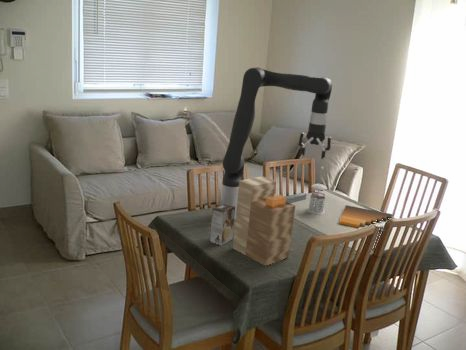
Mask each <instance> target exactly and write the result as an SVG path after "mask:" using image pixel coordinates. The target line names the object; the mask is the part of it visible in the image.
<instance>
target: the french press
mask: <svg viewBox="0 0 466 350" xmlns="http://www.w3.org/2000/svg"><path fill="white" fill-rule="evenodd" d="M324 168H325V167H324V166H320V168H319V169H320V170H321V172H320V175H322V173H323V170H324ZM319 180H320V181H319V182H321V180H322V177H320V179H319ZM311 188H312V189H314V190H313V191H312V192H311V194H310V198H309V199H310V200H309V205H308V208H307V209H306V211H307V212H308V213H310V214H314V215H324V214H325V213H326V211H325V210H324V208H325V200H326V197H325V196H326V195H325V193H323V192H320V191H325V190H327V189H328V187H327V186H326V185H324V184H321V183H314V184H311ZM315 190H318V191H315Z"/></svg>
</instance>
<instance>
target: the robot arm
mask: <svg viewBox="0 0 466 350" xmlns="http://www.w3.org/2000/svg"><path fill="white" fill-rule="evenodd" d="M261 87H278V88H281V89H282V88H283V89H285V90H290V91H291V90H292V91H296V92H297V91H299V92H308V93H311V94H314V95H315V96H314V99H313V100H312V104H311V111H310V115H309V124H308V130H307V133H305V132H303V131H302V132H301V133H300V135H299V140H298V146H299V147H301V155H302V156H303V157H305V156H306V148H307V146H308V145H309V144H311V145H317V146H320V148H321V149H322V151H321V155H320V158H321V159H322V160H324V158H325V157H326V152H328V151H330V150H331V147H332V145H331V144H332V136H325V135H326V134H325V133H326V128H327V123H328V119H327V118H328V109H329V102H330V97H331V93H332V89H333V82H332V80H331V78H329V77H326V76H322V77H315V76H314V77H312V76H308V75H305V74H294V73H292V74H291V73H281V72H274V71H271V70H268V69H263V68H260V67H250V68H248V69H247V70H246V71H245V72H244V74H243V78H242V84H241V91H240V97H239V101H238V104H237V106H236V107H237V108H236V111H235V114H234V118H233V121H232V127H231V132H230V137H229V143H228V146H227V149H226V151H225V154H224V157H223V160H222V167H223V168H222V169H223V170H224V173H223V177H222V183H221V194H220V195H221V196H220V198H219V201H218V203H219V204H218V206H219V205H221V204H227V205H231V206H234V207H235V215H234V221H235V220H236V210H237V200H238V190H239V181H240V180H243V176H244V168H245V158H244V156H243V152H244V148H245V146H246V144H247V143H246V142H247V141H248V139H249V137H250V134H251V132H252V130H253V127H254V126H253V125H254V121H255V117H256V98H257V95H258V92H259V88H261ZM305 138H306V139H307V140H306V142H305V143H303V141H304V139H305ZM325 140H326V142H327V143H326V144H327V145H326V146H325V143H324V141H325ZM321 159H320V160H321Z"/></svg>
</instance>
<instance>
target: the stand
mask: <svg viewBox="0 0 466 350" xmlns="http://www.w3.org/2000/svg"><path fill="white" fill-rule="evenodd" d="M276 185H277V181H276V180H274V179H272V178H268V177H266V176H263V175H262V176H256V177H251V178H246V179H242V180H240V181H239V190H238V200H237V210H236V219H235V220H234V229H233V239H232V240H233V241H232V249H233V250H235V251H237V252H239V253H240V252H241V255H245V256H246V257H248V258H249V257H250V258H249V259H251V258H252V259H251V260H253V259H254V260H253V261H255V260H256V261H255V262H257V261H258V262H260V263H262V264H263V265H262V264H261V265H262V266H264V265H265V266H264V267H267V266H266V265H268V266H270V265H269V264H271V265H273V264H272V263H274V264H276V263H278V262H277V261H279V262H281V261H280V260H282V261H284V260H283V259H285V258H287V259H289V255H290V248H291V240H292V231H293V226H294V218H295V212H296V211H295V210H296V205H295V204H293V203H290V204H286V205H285V206H281V207H278V208H274V209H271V208H269V207H266V198H268V197H272V196H274V195H275V194H276ZM285 260H286V259H285ZM258 262H257V263H258ZM275 262H276V263H275ZM260 263H259V264H260Z"/></svg>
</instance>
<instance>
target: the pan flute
mask: <svg viewBox="0 0 466 350" xmlns="http://www.w3.org/2000/svg"><path fill="white" fill-rule="evenodd" d="M388 218H392V219H393V214H392V213H388V212H382V211H378V210H373V209H366V208H363V207H362V208H361V207H359V206H358V207H357V206H351V205H347V204H346V205H345V207H344V208H343V212H342V214H341V215H340V219H339V224H340V225H343V226H350V227H353V228H360V227H366V225H368V224H370V225H371V224H372V223H371V222H376V223H377V221H381V222H382V221H383V220H386V221H387V220H389V219H388ZM382 219H383V220H382ZM376 220H377V221H376Z"/></svg>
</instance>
